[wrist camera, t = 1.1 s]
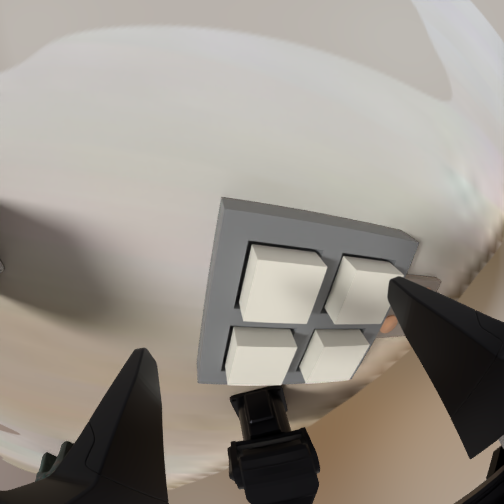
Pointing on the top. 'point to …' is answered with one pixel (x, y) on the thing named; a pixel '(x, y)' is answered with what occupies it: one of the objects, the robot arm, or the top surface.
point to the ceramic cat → (52, 461)
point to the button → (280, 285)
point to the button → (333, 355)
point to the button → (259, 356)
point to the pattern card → (391, 323)
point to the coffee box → (1, 267)
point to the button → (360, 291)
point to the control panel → (291, 237)
